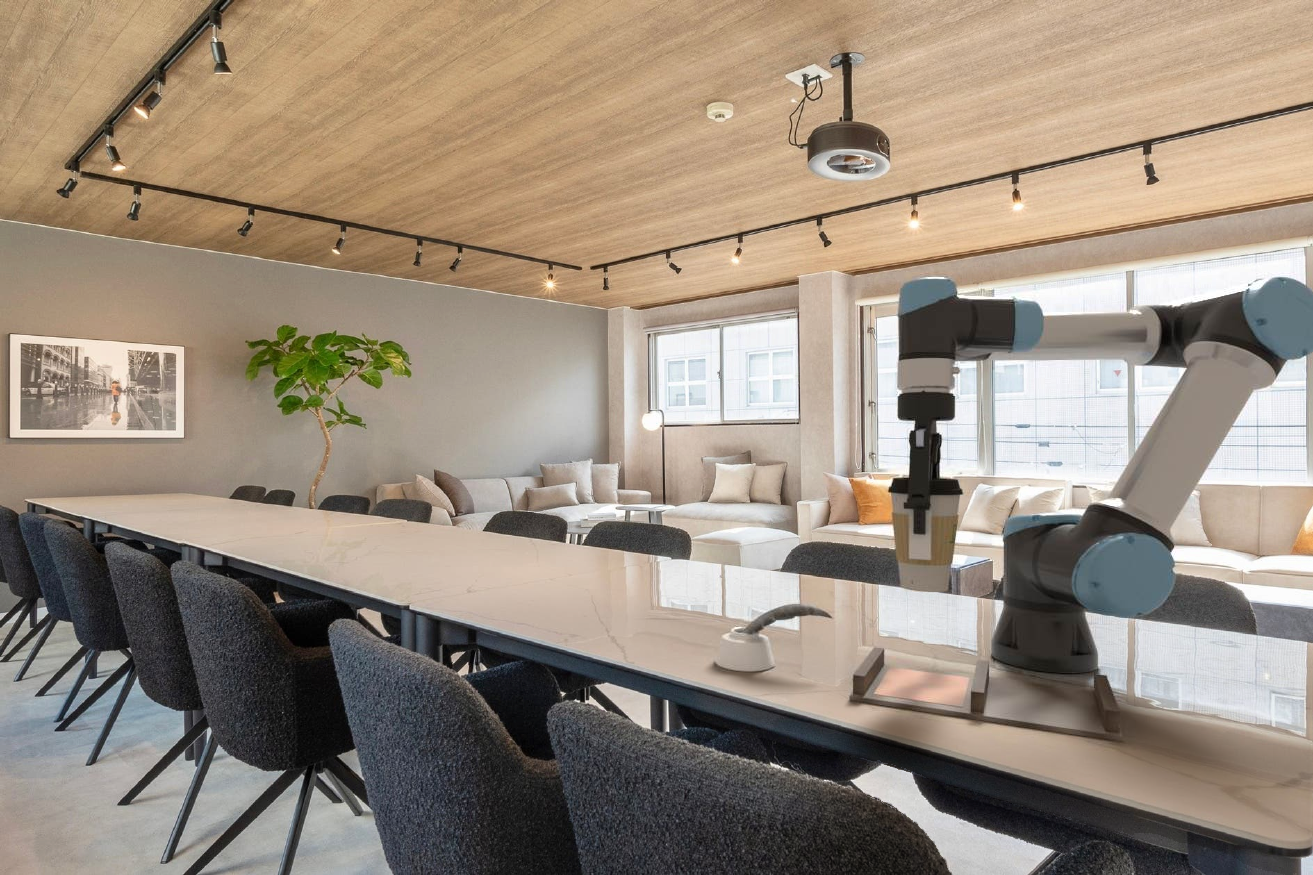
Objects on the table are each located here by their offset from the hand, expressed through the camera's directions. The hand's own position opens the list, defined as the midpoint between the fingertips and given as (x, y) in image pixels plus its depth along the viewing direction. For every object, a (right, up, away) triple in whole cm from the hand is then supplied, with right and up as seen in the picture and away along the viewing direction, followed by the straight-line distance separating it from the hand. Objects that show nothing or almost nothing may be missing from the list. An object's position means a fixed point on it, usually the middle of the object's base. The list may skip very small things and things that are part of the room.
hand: (924, 554), depth 106 cm
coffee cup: (0, -5, 0) cm, 5 cm away
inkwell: (-19, -19, +10) cm, 29 cm away
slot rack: (+6, -19, -3) cm, 20 cm away
